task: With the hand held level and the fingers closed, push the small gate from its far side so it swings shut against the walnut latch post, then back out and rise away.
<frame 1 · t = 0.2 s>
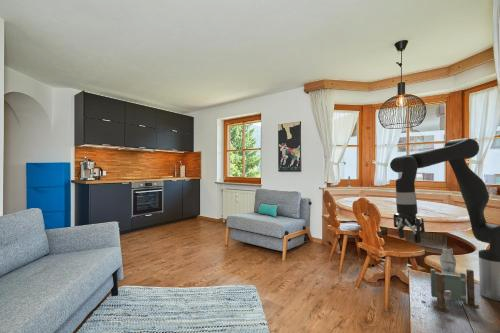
hand: (409, 240, 107), 29 cm above the table, tool pointing down, fingers open, 8 cm apart
gate: (447, 284, 111), point 8 cm above the table, hinge at -35.0°
hinge post: (471, 305, 108), on the table
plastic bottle: (449, 289, 122), on the table
latch post: (441, 309, 105), on the table
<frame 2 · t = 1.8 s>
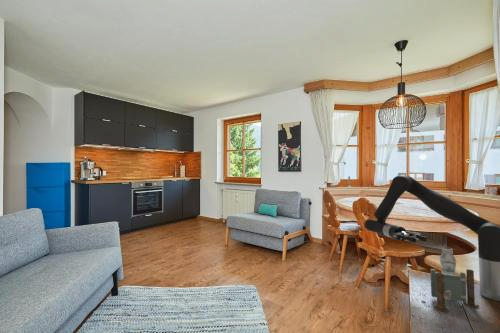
hand: (420, 239, 120), 25 cm above the table, tool horizontal, fingers open, 5 cm apart
nothing on the table moved.
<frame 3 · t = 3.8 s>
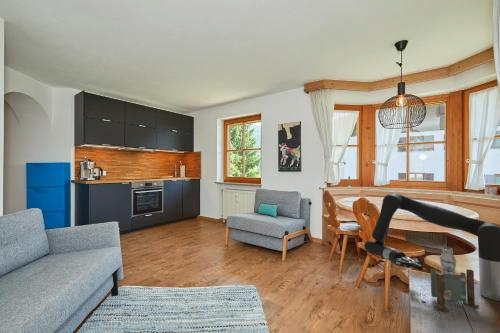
hand: (421, 268, 120), 11 cm above the table, tool horizontal, fingers closed
nothing on the table moved.
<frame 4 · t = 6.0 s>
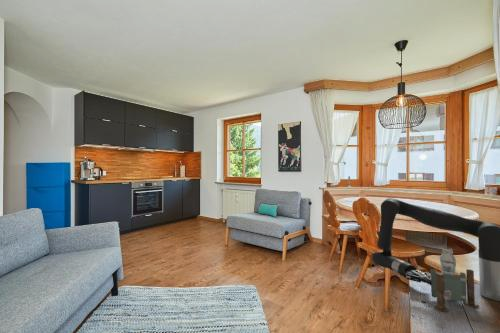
hand: (433, 283, 114), 7 cm above the table, tool horizontal, fingers closed
gate: (448, 285, 111), point 7 cm above the table, hinge at -33.5°, touching gripper
everything else where it was.
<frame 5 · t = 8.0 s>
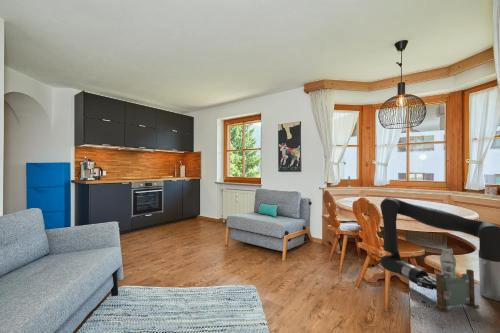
hand: (447, 291, 106), 7 cm above the table, tool horizontal, fingers closed
gate: (455, 289, 106), point 8 cm above the table, hinge at 0.4°, touching gripper
everything else where it was.
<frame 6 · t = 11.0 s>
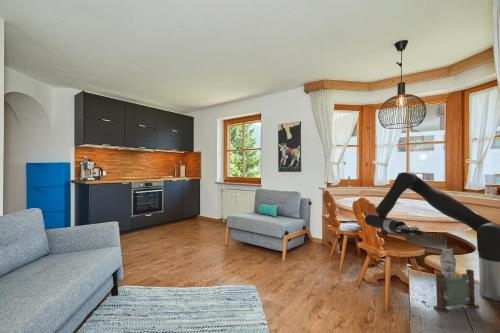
hand: (421, 233, 122), 28 cm above the table, tool horizontal, fingers closed
gate: (455, 289, 106), point 7 cm above the table, hinge at 0.4°
everything else where it was.
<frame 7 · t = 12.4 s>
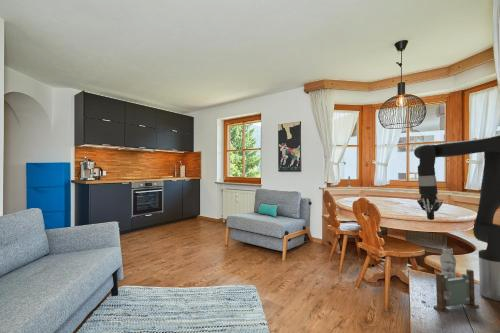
hand: (430, 219, 124), 34 cm above the table, tool pointing down, fingers closed
nothing on the table moved.
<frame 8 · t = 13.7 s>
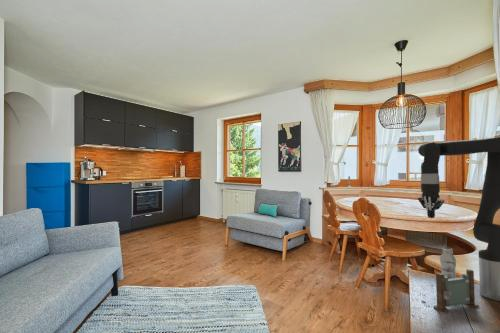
hand: (431, 217, 124), 35 cm above the table, tool pointing down, fingers closed
nothing on the table moved.
at the end: gate at +0° (first picture: -35°) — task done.
